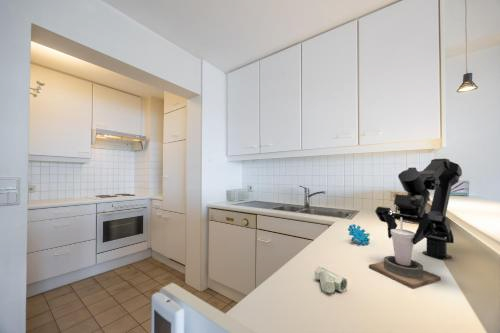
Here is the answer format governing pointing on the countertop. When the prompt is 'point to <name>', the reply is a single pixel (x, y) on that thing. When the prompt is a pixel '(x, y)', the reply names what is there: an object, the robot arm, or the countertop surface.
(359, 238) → the gear
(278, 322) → the countertop surface
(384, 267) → the collar stand
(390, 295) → the countertop surface
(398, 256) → the smoothie
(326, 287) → the pipe fitting
